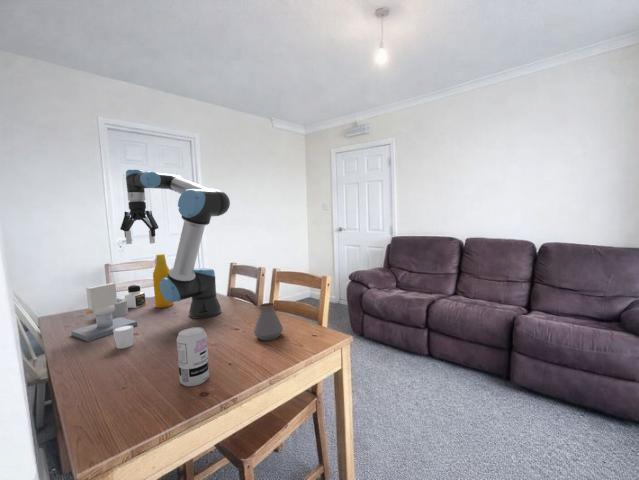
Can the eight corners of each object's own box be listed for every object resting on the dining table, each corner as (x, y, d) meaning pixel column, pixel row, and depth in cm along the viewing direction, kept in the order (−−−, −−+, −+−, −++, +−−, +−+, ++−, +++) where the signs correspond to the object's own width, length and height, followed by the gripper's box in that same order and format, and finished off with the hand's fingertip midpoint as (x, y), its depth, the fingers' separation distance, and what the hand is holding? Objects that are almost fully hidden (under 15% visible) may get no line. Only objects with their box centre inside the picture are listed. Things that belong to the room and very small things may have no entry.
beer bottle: (176, 302, 183) (172, 253, 180) (169, 307, 173) (164, 255, 171) (160, 303, 182) (156, 253, 180) (152, 308, 173) (147, 256, 171)
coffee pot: (289, 335, 126) (287, 298, 124) (265, 345, 118) (263, 305, 116) (258, 324, 141) (256, 291, 139) (235, 331, 132) (233, 296, 131)
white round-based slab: (111, 307, 147) (108, 282, 146) (120, 310, 142) (117, 284, 141) (82, 315, 137) (79, 288, 136) (91, 317, 132) (88, 289, 131)
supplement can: (185, 374, 98) (181, 327, 97) (212, 372, 98) (209, 325, 97) (175, 388, 90) (171, 337, 88) (205, 386, 90) (201, 335, 89)
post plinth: (137, 325, 145) (135, 308, 145) (87, 341, 128) (85, 322, 128) (120, 320, 153) (119, 304, 153) (71, 335, 136) (69, 317, 136)
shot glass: (139, 342, 125) (137, 325, 124) (123, 350, 118) (121, 332, 118) (126, 341, 127) (124, 324, 126) (110, 348, 121) (108, 330, 120)
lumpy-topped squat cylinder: (97, 316, 163) (95, 300, 162) (126, 310, 171) (125, 295, 170) (99, 321, 155) (97, 304, 154) (129, 315, 163) (128, 298, 162)
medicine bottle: (136, 308, 175) (134, 287, 174) (125, 307, 176) (123, 286, 175) (145, 304, 182) (144, 284, 181) (135, 304, 183) (133, 284, 182)
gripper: (109, 202, 156) (113, 244, 158) (153, 199, 151) (157, 243, 153) (121, 202, 164) (125, 243, 165) (164, 200, 159) (167, 242, 160)
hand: (140, 243), depth 159 cm, fingers open, 13 cm apart
